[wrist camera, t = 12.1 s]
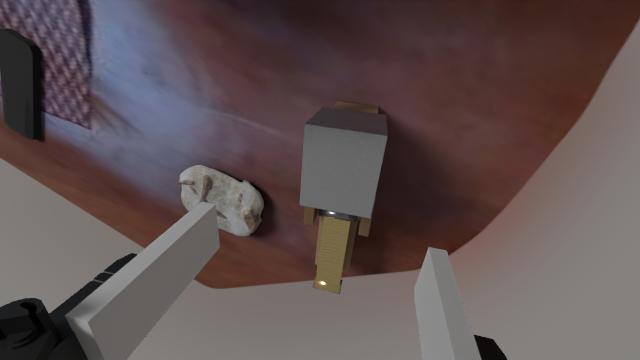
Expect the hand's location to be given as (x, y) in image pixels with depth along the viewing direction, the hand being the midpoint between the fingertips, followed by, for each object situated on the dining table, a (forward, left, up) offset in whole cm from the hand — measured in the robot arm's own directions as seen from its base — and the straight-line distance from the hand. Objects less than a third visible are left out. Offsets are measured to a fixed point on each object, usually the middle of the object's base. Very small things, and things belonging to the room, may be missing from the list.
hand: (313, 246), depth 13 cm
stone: (-17, -12, -20) cm, 29 cm away
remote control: (-46, 0, -20) cm, 50 cm away
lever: (0, -7, -14) cm, 15 cm away
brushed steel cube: (0, 0, -16) cm, 16 cm away
